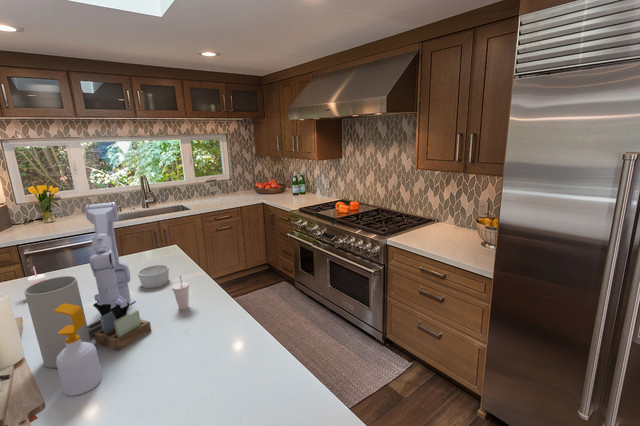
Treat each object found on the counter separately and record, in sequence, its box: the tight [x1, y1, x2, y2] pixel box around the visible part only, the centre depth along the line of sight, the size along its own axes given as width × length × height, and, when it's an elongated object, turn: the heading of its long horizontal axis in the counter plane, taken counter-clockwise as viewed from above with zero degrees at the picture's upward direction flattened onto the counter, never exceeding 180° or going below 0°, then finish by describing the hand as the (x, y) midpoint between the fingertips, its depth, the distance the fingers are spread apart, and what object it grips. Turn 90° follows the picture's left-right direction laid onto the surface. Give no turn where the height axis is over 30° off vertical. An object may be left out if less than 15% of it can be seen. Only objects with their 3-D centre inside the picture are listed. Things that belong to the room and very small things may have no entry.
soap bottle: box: [55, 303, 103, 397], centre depth 91 cm, size 9×9×25 cm
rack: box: [93, 318, 152, 352], centre depth 116 cm, size 12×12×4 cm
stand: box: [87, 319, 102, 340], centre depth 122 cm, size 4×12×3 cm, turn 155°
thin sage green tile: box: [114, 309, 141, 339], centre depth 114 cm, size 1×8×9 cm, turn 155°
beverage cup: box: [27, 265, 46, 286], centre depth 149 cm, size 6×6×14 cm
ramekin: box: [137, 264, 170, 289], centre depth 157 cm, size 13×13×7 cm
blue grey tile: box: [99, 311, 116, 334], centre depth 117 cm, size 1×8×9 cm, turn 155°
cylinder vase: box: [23, 275, 92, 369], centre depth 104 cm, size 12×12×25 cm
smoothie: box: [171, 275, 190, 311], centre depth 133 cm, size 6×6×14 cm
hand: (114, 321), depth 116 cm, fingers open, 7 cm apart
